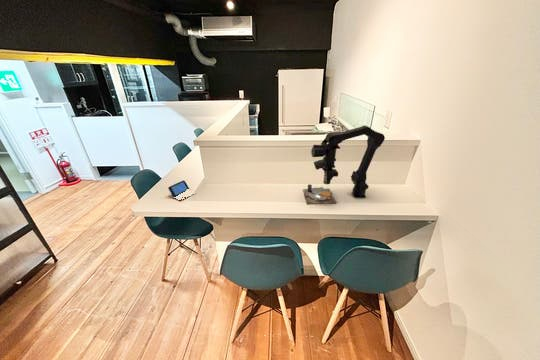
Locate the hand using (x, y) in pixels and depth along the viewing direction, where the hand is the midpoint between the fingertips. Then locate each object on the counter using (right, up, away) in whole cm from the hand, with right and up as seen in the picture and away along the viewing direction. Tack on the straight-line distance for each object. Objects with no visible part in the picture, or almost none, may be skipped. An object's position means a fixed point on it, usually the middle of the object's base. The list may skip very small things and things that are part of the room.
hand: (327, 181), depth 125 cm
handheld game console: (-89, -9, +12) cm, 90 cm away
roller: (0, -1, 0) cm, 1 cm away
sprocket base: (-4, -10, +6) cm, 12 cm away
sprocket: (-4, -8, +6) cm, 11 cm away
